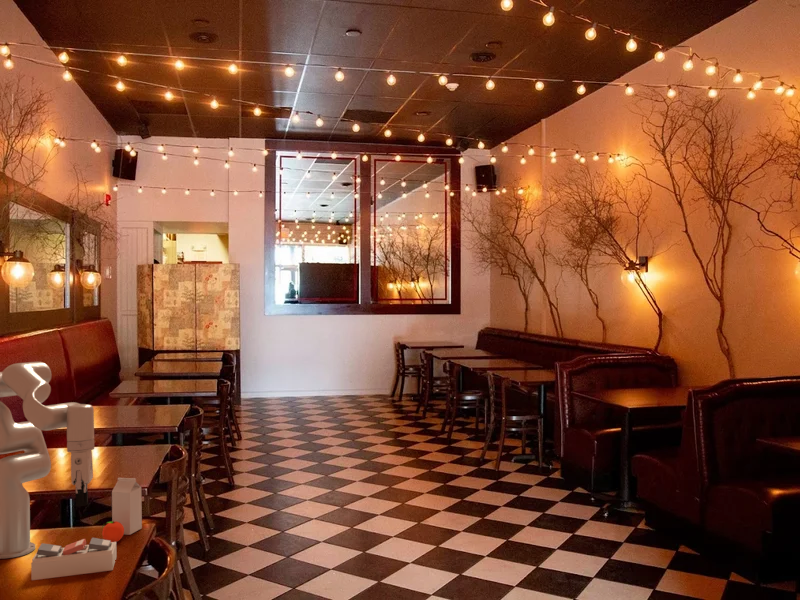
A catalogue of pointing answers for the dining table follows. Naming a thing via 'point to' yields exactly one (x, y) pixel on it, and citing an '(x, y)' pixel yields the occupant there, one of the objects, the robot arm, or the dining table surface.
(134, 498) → the milk carton
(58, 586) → the dining table surface
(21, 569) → the dining table surface
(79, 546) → the rocker mid
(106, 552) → the rocker switch panel
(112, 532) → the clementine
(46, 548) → the rocker
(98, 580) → the dining table surface
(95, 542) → the plate
